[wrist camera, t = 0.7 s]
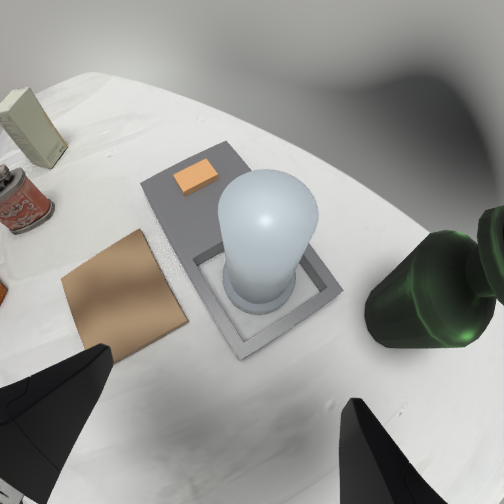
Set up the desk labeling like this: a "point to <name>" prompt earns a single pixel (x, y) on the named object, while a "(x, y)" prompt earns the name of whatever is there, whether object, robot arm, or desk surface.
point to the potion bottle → (442, 289)
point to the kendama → (2, 293)
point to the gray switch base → (219, 235)
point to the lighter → (22, 202)
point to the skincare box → (31, 128)
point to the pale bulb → (264, 237)
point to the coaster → (122, 298)
